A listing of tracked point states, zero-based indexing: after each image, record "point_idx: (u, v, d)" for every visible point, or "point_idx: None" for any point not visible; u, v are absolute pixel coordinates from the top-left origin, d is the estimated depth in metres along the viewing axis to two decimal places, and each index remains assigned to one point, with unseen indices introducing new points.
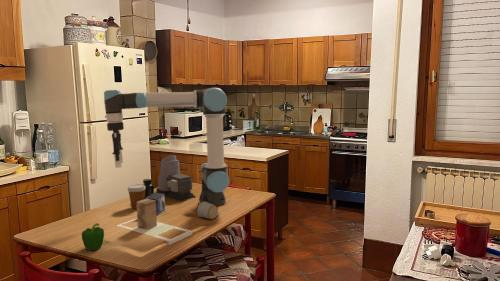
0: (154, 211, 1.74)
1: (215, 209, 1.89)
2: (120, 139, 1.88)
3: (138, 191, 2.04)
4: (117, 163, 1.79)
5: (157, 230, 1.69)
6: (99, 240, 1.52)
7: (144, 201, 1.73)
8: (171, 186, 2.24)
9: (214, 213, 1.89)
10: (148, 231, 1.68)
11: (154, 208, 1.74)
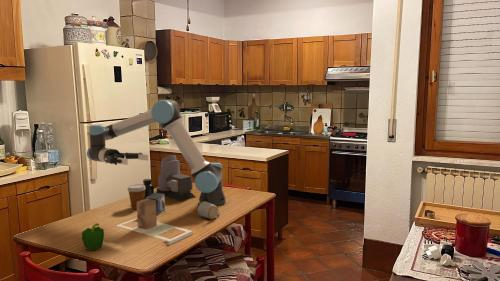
0: (154, 211, 1.74)
1: (215, 209, 1.89)
2: (124, 153, 1.94)
3: (138, 191, 2.04)
4: (123, 161, 1.81)
5: (157, 230, 1.69)
6: (99, 240, 1.52)
7: (144, 201, 1.73)
8: (171, 186, 2.24)
9: (215, 213, 1.89)
10: (148, 231, 1.68)
11: (154, 208, 1.74)
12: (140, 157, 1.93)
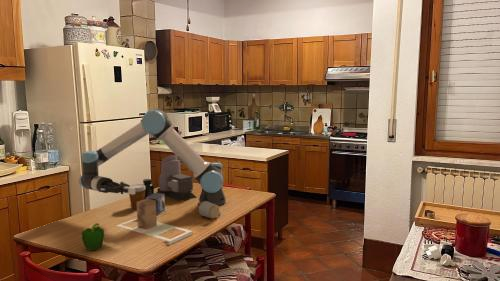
0: (154, 211, 1.74)
1: (216, 208, 1.89)
2: (115, 183, 1.85)
3: (138, 191, 2.04)
4: (129, 191, 1.77)
5: (157, 230, 1.69)
6: (99, 240, 1.52)
7: (144, 201, 1.73)
8: (172, 186, 2.24)
9: (216, 212, 1.89)
10: (148, 231, 1.68)
11: (154, 208, 1.74)
12: None
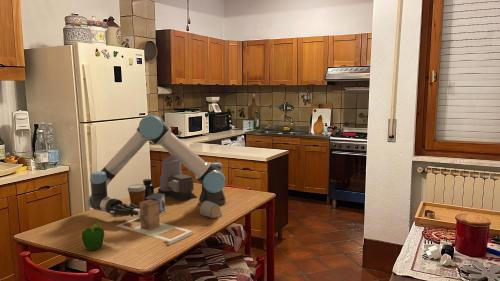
0: (157, 212, 1.73)
1: (218, 208, 1.90)
2: (124, 205, 1.83)
3: (138, 191, 2.04)
4: (139, 213, 1.75)
5: (157, 230, 1.69)
6: (99, 240, 1.52)
7: (147, 202, 1.72)
8: (172, 186, 2.23)
9: (217, 212, 1.90)
10: (148, 231, 1.68)
11: (157, 209, 1.73)
12: None
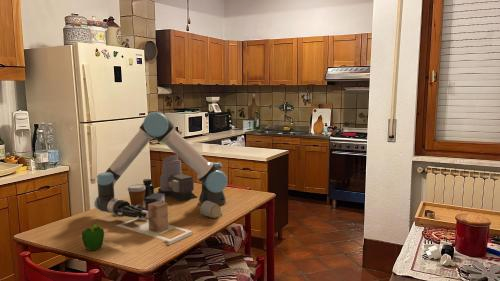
0: (166, 214, 1.70)
1: (218, 208, 1.90)
2: (132, 206, 1.80)
3: (138, 191, 2.04)
4: (147, 215, 1.72)
5: None
6: (99, 240, 1.52)
7: (155, 203, 1.69)
8: (172, 186, 2.23)
9: (217, 212, 1.90)
10: (148, 231, 1.68)
11: (166, 211, 1.70)
12: None
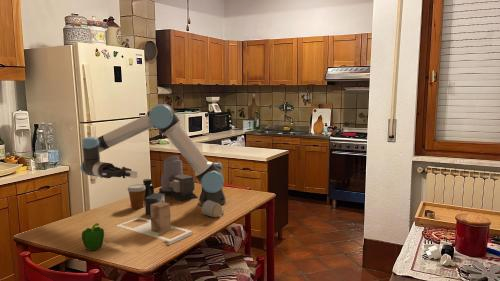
0: (168, 214, 1.69)
1: (219, 208, 1.91)
2: (117, 168, 1.83)
3: (138, 191, 2.04)
4: (131, 174, 1.75)
5: None
6: (99, 240, 1.52)
7: (158, 204, 1.68)
8: (173, 186, 2.23)
9: (219, 211, 1.91)
10: (148, 231, 1.68)
11: (168, 211, 1.69)
12: None
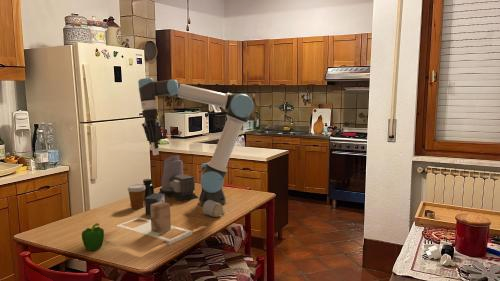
0: (168, 214, 1.69)
1: (220, 207, 1.91)
2: None
3: (138, 191, 2.04)
4: (156, 150, 1.95)
5: None
6: (99, 240, 1.52)
7: (158, 204, 1.68)
8: (173, 186, 2.23)
9: (219, 211, 1.91)
10: (148, 231, 1.68)
11: (168, 211, 1.69)
12: None
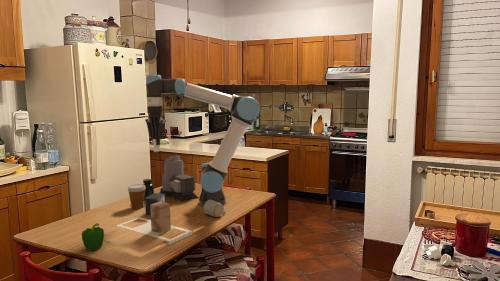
0: (168, 214, 1.69)
1: (221, 207, 1.92)
2: None
3: (138, 191, 2.04)
4: (157, 147, 1.96)
5: None
6: (99, 240, 1.52)
7: (158, 204, 1.68)
8: (174, 186, 2.23)
9: (220, 211, 1.92)
10: (148, 231, 1.68)
11: (168, 211, 1.69)
12: None
